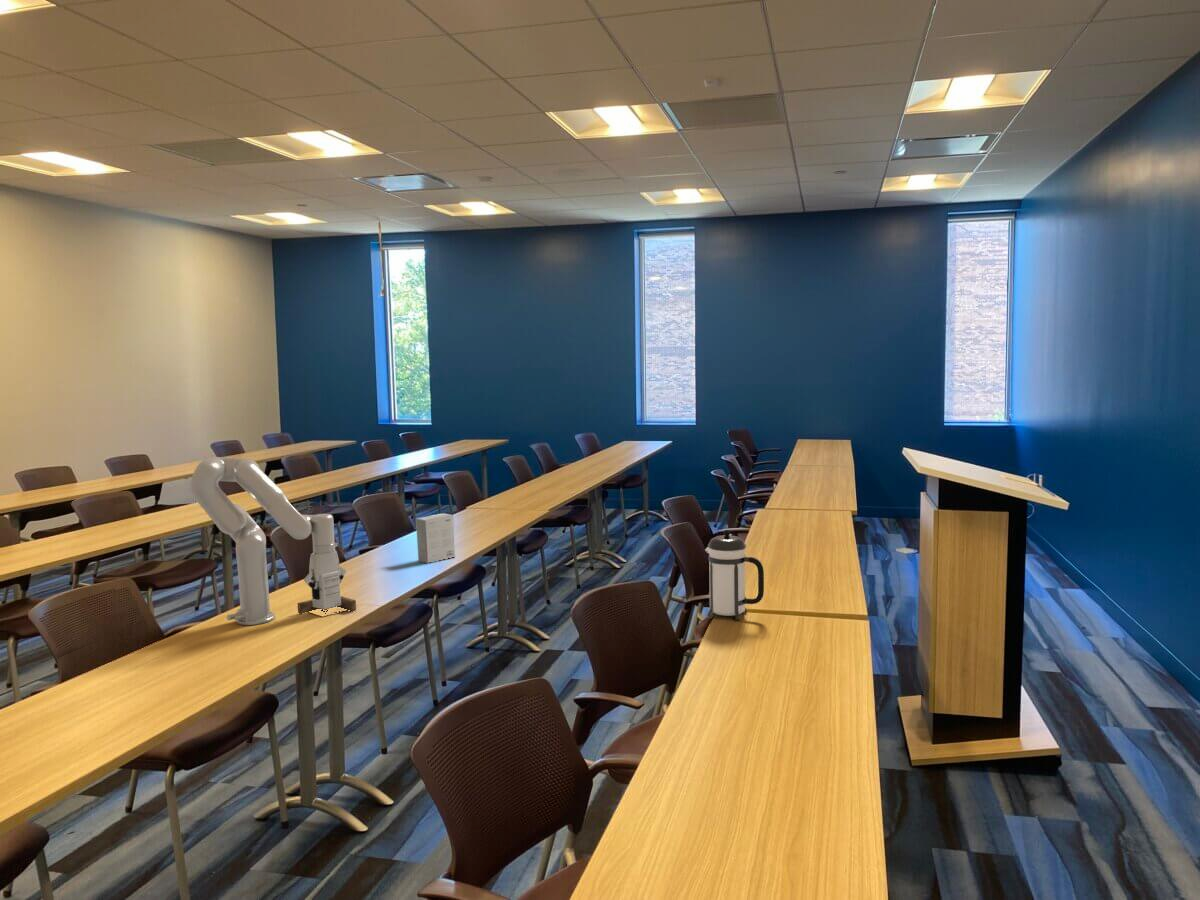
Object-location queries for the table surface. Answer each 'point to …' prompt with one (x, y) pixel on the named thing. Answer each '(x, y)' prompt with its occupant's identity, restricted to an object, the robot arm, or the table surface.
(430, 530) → the hard drive box
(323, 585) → the supplement box
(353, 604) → the arena
